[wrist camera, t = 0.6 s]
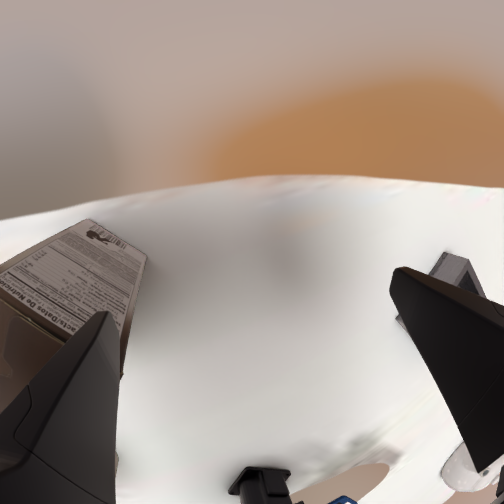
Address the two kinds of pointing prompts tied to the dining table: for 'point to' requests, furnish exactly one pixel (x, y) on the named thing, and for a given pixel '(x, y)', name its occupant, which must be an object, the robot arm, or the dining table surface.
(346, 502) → the cell phone
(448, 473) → the teapot
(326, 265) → the dining table surface
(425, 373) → the dining table surface
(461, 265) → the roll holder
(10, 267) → the coffee box
